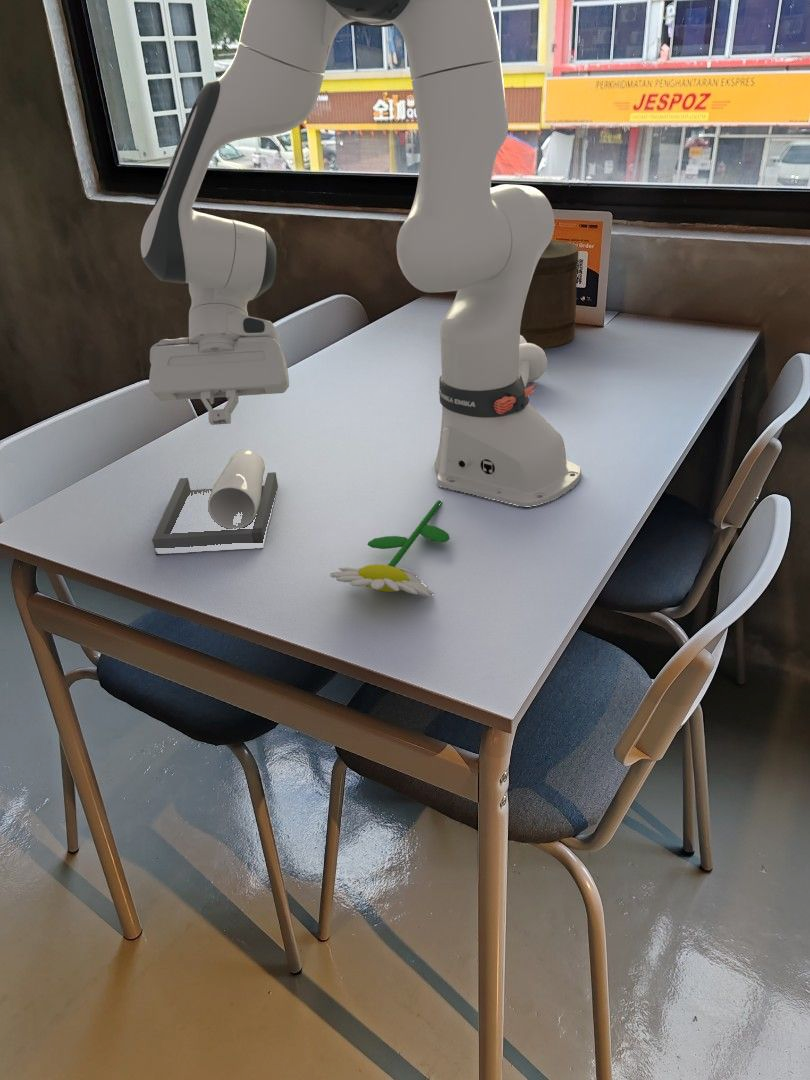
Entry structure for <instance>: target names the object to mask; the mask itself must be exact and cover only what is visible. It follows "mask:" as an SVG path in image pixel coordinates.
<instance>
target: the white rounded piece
mask: <svg viewBox="0 0 810 1080" xmlns="http://www.w3.org/2000/svg"><path fill="white" fill-rule="evenodd" d="M547 366H548V358H547V356H546V353H545V351H544V350H543V348H540V347H539V346H537V345H535V344H531V343H527V342H526V340H525V338H524V337H523V336H521V335H520V344H519V373H520V374H521V377H522V380H523V382H524V385H525V388H527V385H528V384H529V383H533V382H535V381H537V380H538V379H539V378H541V377H542V376H543V375H544V373H545V372H546V369H547Z"/></svg>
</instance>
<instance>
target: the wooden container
mask: <svg viewBox="0 0 810 1080" xmlns="http://www.w3.org/2000/svg"><path fill="white" fill-rule="evenodd" d="M578 264H579V246H577V245H576V244H574V243H572V242H568V241H563V240H552V239H551V241H550V243H549V245H548V246H547V248H546V249H545V250H544V252H543V254H542V255H541V257H540V259H539V261H538V263H537V265H536V268H535V271H534V273H533V277H532V280H531V283H530V286H529V290H528V293H527V297H526V300H525V304H524V309H523V313H522V319H521V326H520V335H521V336H523V337H524V338H525V340H526V342H527V343H531V344H535V345H537V346H539V347H540V348H541V349H547V347H548V348H554V346H555V347H559V346H562V345H565V344H568V343H570V342H571V341H572V340H573V339H574V338H575V333H576V332H575V331H576V330H575V329H576V315H577V314H576V312H577V282H578V281H577V279H578V278H577V276H578V275H577V274H578Z"/></svg>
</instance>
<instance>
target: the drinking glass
mask: <svg viewBox="0 0 810 1080" xmlns="http://www.w3.org/2000/svg"><path fill="white" fill-rule="evenodd" d="M265 466H266V463H265V461H264V459H263V457H262V456H261V454H259V453H258V452H257V451H254V450H252V449H240V450H238V451H235V453H233V454H232V456H230V459H229V461H228V463H227V465H226V466H225V468H224V469H223V471H222V472H221V474H220V475H219V477H218V478H217V479H216V482H215V483H214V485H213V487H212V488H211V489H212V491H211V494H210V497H209V500H208V512H209V514H210V516H211V518H212V519H213V520H214V522H216V523H217V524H218V525H220V526H221V527H224V528H226V529H233V528H234V529H236V528H239V529H240V528H245V527H247V526H248V525H250V524H251V523H252V522H253V520H254V519H255V517H256V514H257V511H258V509H259V505H260V501H261V494H262V486H263V482H264V474H265V470H266V467H265ZM238 512H239V513H240V514H241V512H242V514H243V515H242V519H241V523H238V526H236V525H233V519H234V516H237V515H236V514H238ZM240 516H241V515H240ZM236 524H237V523H236Z"/></svg>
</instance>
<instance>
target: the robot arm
mask: <svg viewBox="0 0 810 1080" xmlns="http://www.w3.org/2000/svg"><path fill="white" fill-rule="evenodd" d="M495 22H496V21H495V17H494V13H493V9H492V4H491V1H490V0H249V2H248V4H247V8H246V11H245V15H244V19H243V23H242V26H241V31H240V36H239V40H238V41H239V42H238V45H237V49H236V52H235V55H234V57H233V59H232V61H231V63H230V65H229V66H228V68H227V69H226V71H224V73H223V74H222V75H221V77H219V78H218V79H217V80H213V81H208V82H206V83H205V84H204V86H203V87H202V88H201V90H200V91H199V94H198V95H197V96H196V99H195V101H194V103H193V105H192V107H191V110H190V112H189V114H188V117H187V119H186V122H185V125H184V127H183V129H182V132H181V135H180V138H179V140H178V143H177V146H176V148H175V151H174V153H173V156H172V159H171V161H170V164H169V167H168V170H167V173H166V175H165V178H164V181H163V184H162V185H161V188H160V192H159V193H158V196H157V198H156V200H155V202H154V204H153V206H152V209H151V211H150V213H149V215H148V217H147V219H146V221H145V224H144V226H143V229H142V233H141V235H140V236H141V237H140V255H141V260H142V261H143V263H144V264H145V265H146V267H147V269H149V271H151V273H152V274H153V275H154V276H155V277H156V278H157V279H158V280H159V281H160V282H168V283H175V284H188V291H189V292H188V293H189V296H190V298H191V304H190V307H189V311H188V337H178V338H172V339H168V338H164V339H163V338H162V339H160V340H159V342H156V343H154V344H153V345H152V346H151V347H150V350H149V362H150V368H149V369H150V370H149V377H148V378H149V379H148V388H149V391H150V392H151V394H152V395H153V396H154V397H155V398H156V399H157V400H159V401H160V402H161V401H162V402H167V401H168V402H170V401H181V400H183V401H184V400H196V399H197V400H198V399H199V400H201V402H202V403H203V405H204V407H205V408H206V410H207V411H208V414H207V415H208V423H209V424H210V426H213V425H214V426H216V425H226V424H227V425H230V424H231V425H232V414H233V412H234V411H235V409H236V407H237V406H238V405H239V397H241V396H242V397H243V396H245V397H246V396H256V395H257V396H259V395H272V394H273V395H274V394H284V393H285V392H287V390H288V389H289V387H290V379H289V372H288V371H289V370H288V365H287V362H286V358H285V355H284V352H283V350H282V348H281V344H280V343H281V342H280V337H279V333H278V331H277V329H276V327H275V325H274V323H273V322H272V321H270V320H267V319H263V318H259V317H255V316H250V315H249V313H248V308H247V307H248V303H249V301H254V300H256V299H258V298H259V297H260V296H262V295H263V294H264V293H265V292H266V291H268V290H269V289H271V287H272V286H273V284H274V282H275V278H276V275H277V248H276V245H275V242H274V240H273V239H272V237H271V235H270V233H268V231H267V230H266V229H265V227H264V228H263V227H260V226H257V225H255V224H252V223H251V224H250V223H247V222H243V221H240V220H236V219H230V218H229V219H228V218H224V217H220V216H216V215H212V214H209V213H203V212H200V211H197V210H195V209H193V207H194V204H195V201H196V199H197V196H198V194H199V191H200V189H201V186H202V183H203V180H204V179H205V175H206V173H207V171H208V168H209V165H210V163H211V160H212V158H213V157H214V155H215V154H216V152H217V151H219V149H221V148H222V147H224V146H225V145H227V144H230V143H232V142H236V141H239V140H245V139H250V138H261V137H271V136H276V135H281V134H284V133H287V132H289V131H292V130H295V129H296V128H298V127H299V126H300V125H302V124H303V123H304V122H305V121H306V120H307V119H308V118H309V117H310V116H311V114H312V113H313V110H314V108H315V105H316V103H317V101H318V98H319V94H320V92H321V88H322V85H323V82H324V77H325V72H326V68H327V66H328V65H327V64H328V60H329V56H330V52H331V49H332V46H333V43H334V40H335V38H336V37H337V34H338V33H339V31H340V30H341V29H342V28H343V27H345V26H346V25H347V24H348V25H349V26H353V27H355V26H356V27H358V26H360V27H375V28H386V27H387V28H388V27H393V26H395V27H396V28H397V29H398V31H399V32H400V34H401V36H402V39H403V41H404V45H405V49H406V52H407V54H406V55H407V59H408V67H409V72H410V78H411V86H412V93H413V97H414V98H413V99H414V108H415V113H416V123H417V130H418V131H417V132H418V138H419V150H420V151H419V169H418V170H419V172H418V177H417V178H418V179H417V184H416V185H417V186H416V191H415V195H414V199H413V203H412V206H411V209H410V211H409V213H408V215H407V217H406V219H405V220H404V221H403V224H402V225H401V226H400V227H399V228H400V229H399V232H398V234H397V239H396V256H397V262H398V265H399V267H400V270H401V272H402V274H403V276H404V277H405V278H406V280H407V281H408V283H410V285H412V286H413V287H414V288H416V289H417V290H418V291H421V292H424V293H446V292H456V295H455V298H454V300H453V302H452V304H451V305H450V308H449V309H448V310H447V312H446V313H445V315H444V317H443V319H442V322H441V324H440V329H439V330H440V331H439V333H440V354H441V355H440V360H441V363H440V364H441V375H440V377H439V379H438V381H439V383H438V385H439V386H438V387H439V388H438V394H439V402H440V404H441V406H442V407H441V409H442V412H441V414H442V415H441V425H440V427H441V428H440V437H439V443H438V444H439V445H438V450H437V454H436V458H435V461H434V469H435V471H436V473H437V480H436V484H437V486H438V487H439V486H441V487H440V488H442V487H444V488H443V489H446V488H449V489H448V490H450V489H452V490H451V491H454V490H457V491H456V492H458V491H461V492H460V493H462V492H465V493H464V494H466V493H470V494H474V495H478V496H481V497H480V498H482V497H487V498H490V499H495V500H499V501H503V502H507V503H512V504H516V505H519V506H524V507H525V506H533V505H538V504H541V503H545V502H548V501H551V500H553V499H555V498H557V497H559V496H561V495H562V494H564V495H565V494H567V493H568V492H569V490H570V489H571V490H572V489H573V488H575V485H576V486H577V485H578V483H579V482H580V480H581V478H582V468H581V466H580V465H578V464H575V463H574V462H572V461H570V460H568V459H567V454H566V447H565V446H566V445H565V441H564V439H563V436H562V434H560V433H559V432H558V431H557V430H556V429H555V428H554V427H553V425H551V424H550V423H549V421H548V420H546V419H545V418H544V417H543V416H542V414H540V412H539V411H537V410H536V409H535V407H534V406H533V405H531V403H530V402H529V400H530V399H529V396H530V395H532V394H534V393H535V390H534V388H535V387H536V386H535V384H532V385H530V386H529V387H525V385H524V382H523V380H522V377H521V374H520V373H519V344H520V326H521V319H522V313H523V309H524V304H525V300H526V297H527V293H528V290H529V286H530V283H531V280H532V277H533V273H534V271H535V268H536V265H537V263H538V261H539V259H540V257H541V255H542V254H543V252H544V250H545V249H546V248H547V246H548V245H549V243H550V241H551V240H552V238H553V235H554V231H555V215H554V211H553V208H552V205H551V203H550V201H549V199H548V198H547V197H546V195H545V194H544V193H543V192H542V191H541V190H539V189H537V188H536V187H533V186H530V185H522V184H505V183H504V184H499V185H495V186H493V187H492V178H493V177H492V176H493V170H494V165H495V162H496V158H497V156H498V153H499V151H500V149H501V148H502V146H503V145H504V143H505V141H506V140H507V137H508V133H509V121H508V120H509V119H508V112H507V111H508V110H507V109H508V108H507V101H506V93H505V83H504V76H503V68H502V57H501V50H500V44H499V42H500V41H499V38H498V32H497V31H498V30H497V27H496V23H495ZM215 398H226V400H227V402H226V403H225V405H224V408H218V409H213V407H212V405H213V404H214V403H215ZM571 490H570V491H571ZM567 491H568V492H567ZM566 492H567V493H566ZM470 494H469V495H470ZM474 495H473V496H474ZM478 496H477V497H478ZM562 496H563V495H562ZM562 496H561V497H562ZM559 498H560V497H559ZM490 499H489V500H490ZM557 499H558V498H557ZM555 500H556V499H555ZM553 501H554V500H553ZM551 502H552V501H551ZM548 503H549V502H548Z"/></svg>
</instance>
